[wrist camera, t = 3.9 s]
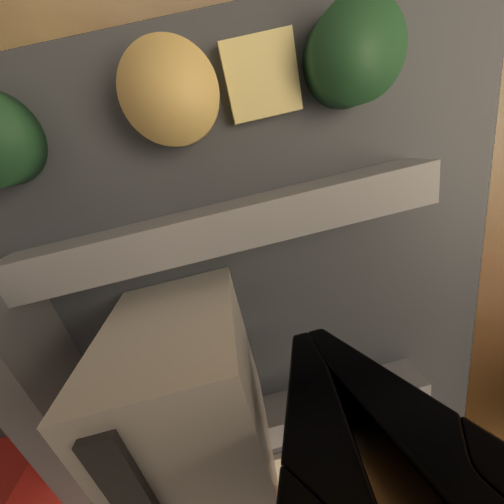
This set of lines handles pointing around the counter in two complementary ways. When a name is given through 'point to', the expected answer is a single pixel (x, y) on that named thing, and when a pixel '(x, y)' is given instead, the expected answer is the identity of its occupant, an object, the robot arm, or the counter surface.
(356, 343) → the breaker panel
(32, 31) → the counter surface
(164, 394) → the panel
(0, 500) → the cap
